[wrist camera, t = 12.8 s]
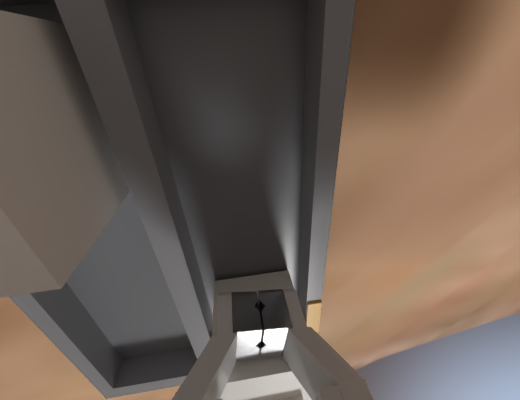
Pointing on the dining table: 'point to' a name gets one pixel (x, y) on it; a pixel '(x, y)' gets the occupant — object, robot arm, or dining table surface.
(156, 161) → the switch board
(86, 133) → the white cube-shaped block
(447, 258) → the dining table surface
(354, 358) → the dining table surface
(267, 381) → the white sliding block
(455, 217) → the dining table surface
